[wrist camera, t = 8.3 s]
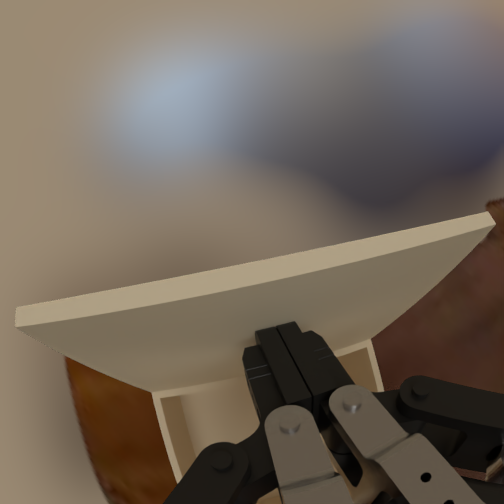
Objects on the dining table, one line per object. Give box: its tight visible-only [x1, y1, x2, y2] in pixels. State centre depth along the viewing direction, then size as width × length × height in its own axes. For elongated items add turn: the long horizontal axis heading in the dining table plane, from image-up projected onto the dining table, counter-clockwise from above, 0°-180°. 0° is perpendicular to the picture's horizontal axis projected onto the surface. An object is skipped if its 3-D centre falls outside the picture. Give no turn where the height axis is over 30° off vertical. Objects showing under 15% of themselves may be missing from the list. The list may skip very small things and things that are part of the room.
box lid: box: [15, 212, 496, 392], centre depth 13 cm, size 16×14×1 cm
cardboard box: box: [152, 339, 384, 504], centre depth 20 cm, size 16×14×8 cm
